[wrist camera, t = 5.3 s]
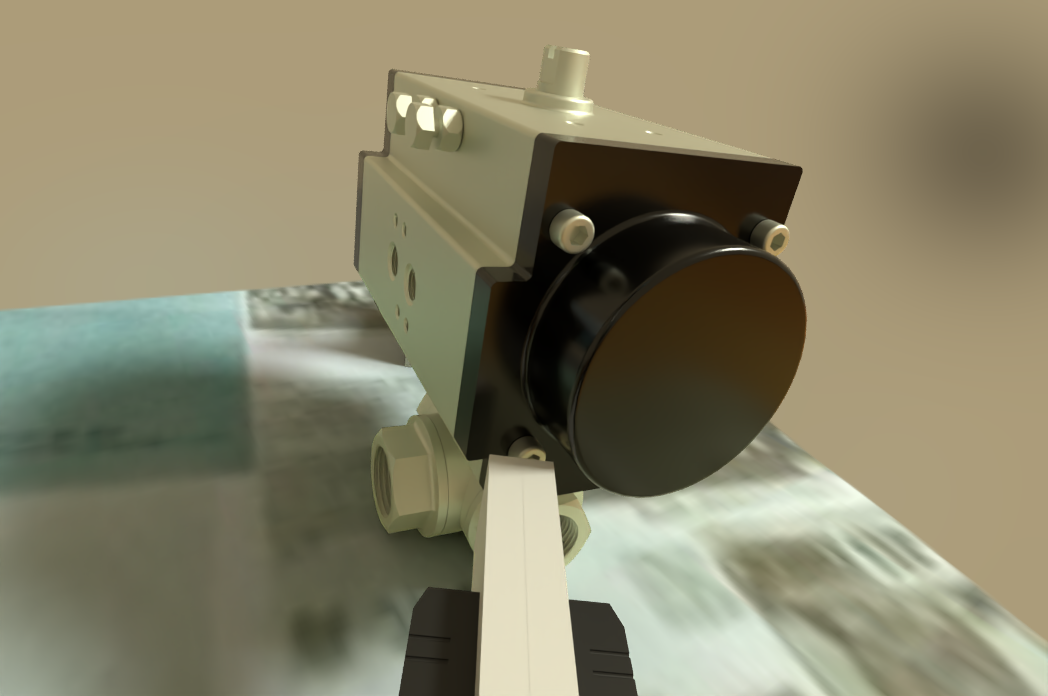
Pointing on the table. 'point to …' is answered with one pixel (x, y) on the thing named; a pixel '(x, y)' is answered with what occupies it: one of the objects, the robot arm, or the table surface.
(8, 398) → the table surface
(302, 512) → the table surface
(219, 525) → the table surface
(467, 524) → the ball valve
